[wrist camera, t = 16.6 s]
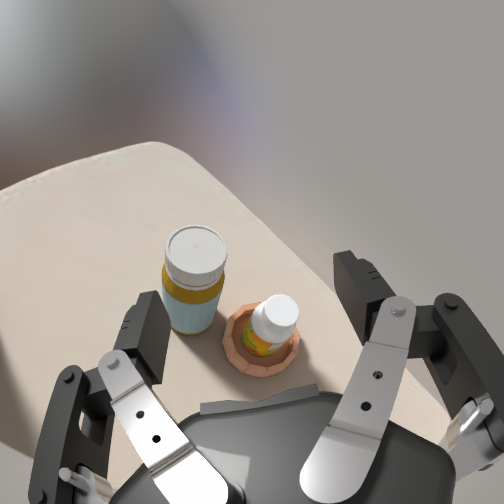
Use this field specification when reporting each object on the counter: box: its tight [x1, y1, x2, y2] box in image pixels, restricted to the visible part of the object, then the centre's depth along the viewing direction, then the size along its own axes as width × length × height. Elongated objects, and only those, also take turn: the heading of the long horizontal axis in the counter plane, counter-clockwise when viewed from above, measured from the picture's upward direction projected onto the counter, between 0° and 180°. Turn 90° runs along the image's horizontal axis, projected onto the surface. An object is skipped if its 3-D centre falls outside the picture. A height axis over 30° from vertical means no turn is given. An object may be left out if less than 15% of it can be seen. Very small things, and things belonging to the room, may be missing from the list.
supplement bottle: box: [241, 294, 299, 358], centre depth 34 cm, size 5×5×10 cm
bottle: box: [162, 224, 228, 335], centre depth 33 cm, size 7×7×15 cm
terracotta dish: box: [222, 302, 300, 378], centre depth 38 cm, size 10×10×2 cm
